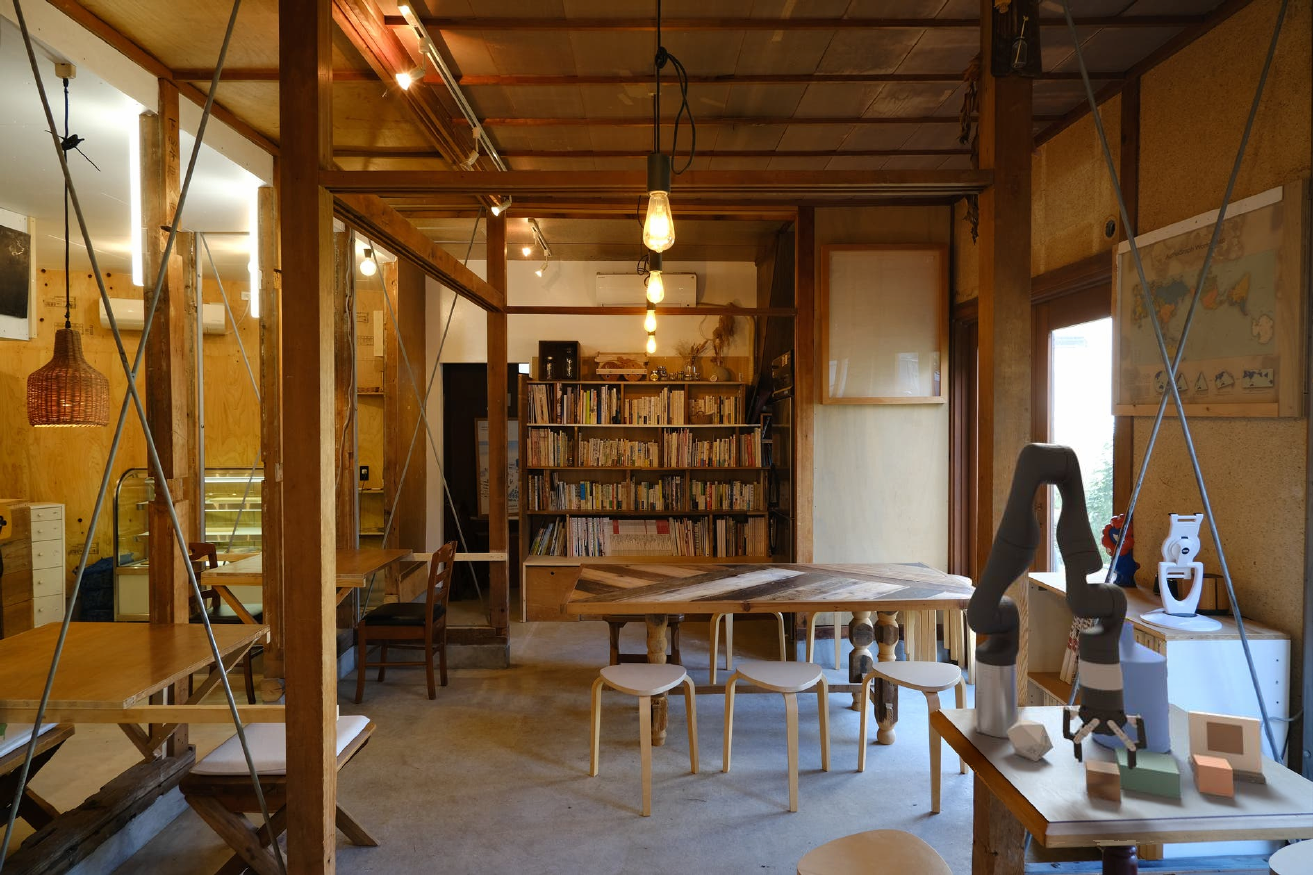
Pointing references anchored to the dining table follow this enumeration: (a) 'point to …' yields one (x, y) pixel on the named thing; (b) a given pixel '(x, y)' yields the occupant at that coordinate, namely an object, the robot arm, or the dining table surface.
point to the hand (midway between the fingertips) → (1104, 764)
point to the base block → (1149, 773)
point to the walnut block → (1103, 780)
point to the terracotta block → (1213, 775)
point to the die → (1029, 739)
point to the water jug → (1142, 694)
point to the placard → (1228, 742)
